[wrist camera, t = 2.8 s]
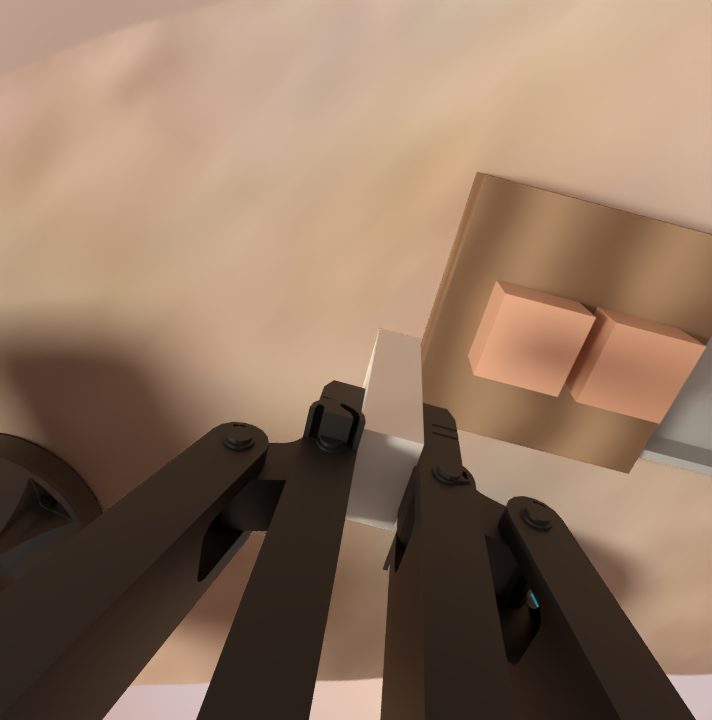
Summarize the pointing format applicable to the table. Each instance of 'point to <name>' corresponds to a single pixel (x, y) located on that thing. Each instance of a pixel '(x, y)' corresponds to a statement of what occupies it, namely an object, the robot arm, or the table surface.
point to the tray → (687, 423)
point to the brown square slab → (567, 280)
